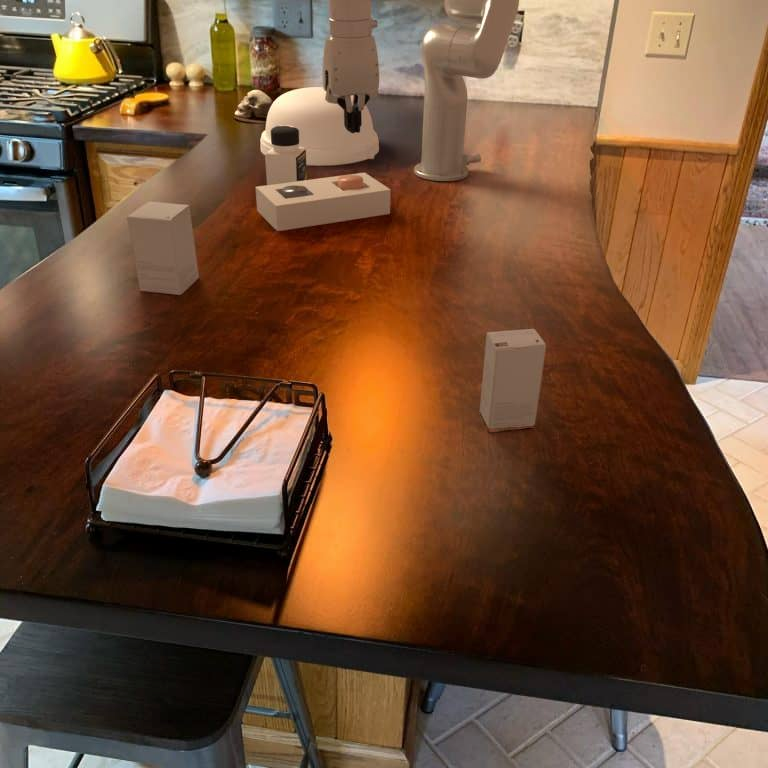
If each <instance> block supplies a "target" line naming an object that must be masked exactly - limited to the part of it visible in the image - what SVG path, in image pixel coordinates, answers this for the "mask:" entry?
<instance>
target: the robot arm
mask: <svg viewBox="0 0 768 768" xmlns="http://www.w3.org/2000/svg"><path fill="white" fill-rule="evenodd" d="M443 3H444V11H445V13H446V14H447V16H448V17H449V18H450V19H452V20H454V21H458V22H463V23H470V24H476V25H480V27H471V26H467V25H460V24H453V23H452V24H451V23H441V24H436V25H433V26H432V27H431V28H429V29H428V30H427V31H426V32H425V34H424V36H423V39H422V44H421V58H422V59H421V60H422V64H423V72H424V74H423V76H424V101H423V118H422V119H423V123H422V139H421V140H422V142H421V143H422V144H421V161H420V162H419V163H417V164H416V165H415V166H414V170H413V171H414V174H415V176H417V177H420V178H422V179H424V180H428V181H434V182H436V181H437V182H455V181H460V180H463V179H465V178H467V177H468V176H469V171H470V170H469V168H468V167H467V166H470V164H478V163H480V162H481V160H482V156H481V154H479V153H478V154H471V153H469V152H464V148H465V134H466V120H467V109H468V106H467V105H468V90H467V86H466V85H467V84H466V83H465V80H464V77H467V78H475V79H480V80H482V79H488V78H490V77H491V76H493V75H494V74H496V71H497V70H498V68H499V66H500V64H501V62H502V59H503V55H504V53H505V50H506V47H507V44H508V42H509V38H510V35H511V34H512V29H513V26H514V25H515V21H516V19H517V15H518V11H519V6H520V0H444V2H443ZM328 10H329V11H328V13H329V36H327V37H325V41H324V47H323V60H322V87H323V89H324V90H325V91H326V96H325V100H326V101H327V102H329V103H334V104H338V105H339V106H340V107H341V108H342V109H343V110H344V126H345V128H346V130H347V131H349V132H351V133H355V132H357V133H359V132H360V126H361V125H362V119H361V111H363V109H364V106H365V105H366V106H367V103H368V102H369V101H371V100H372V99H373V100H374V99H375V98H378V97H379V95H380V94H379V87H380V65H379V63H380V62H379V56H378V55H379V53H378V49H377V44H376V37H375V35H372V34H373V29H376V28H378V19H373V18H372V0H328ZM352 95H353V103H352V102H351V96H352Z"/></svg>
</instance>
